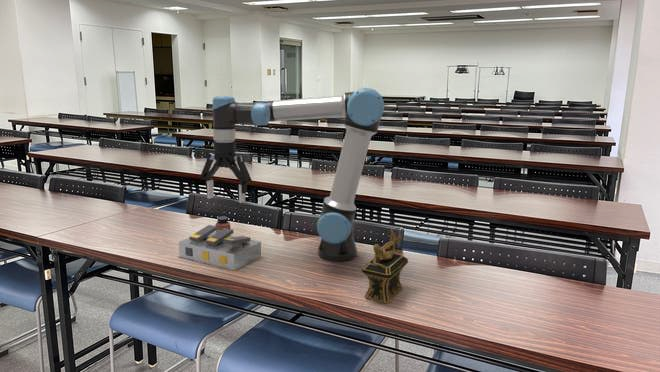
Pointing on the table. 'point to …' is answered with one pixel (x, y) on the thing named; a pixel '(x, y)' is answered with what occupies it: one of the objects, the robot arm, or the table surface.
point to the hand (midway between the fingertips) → (226, 200)
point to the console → (220, 252)
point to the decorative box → (385, 271)
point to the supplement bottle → (222, 223)
